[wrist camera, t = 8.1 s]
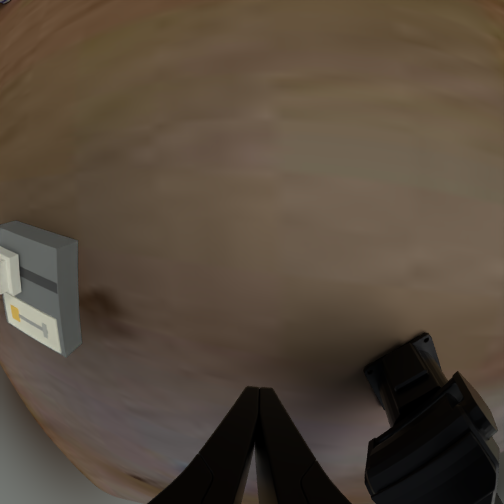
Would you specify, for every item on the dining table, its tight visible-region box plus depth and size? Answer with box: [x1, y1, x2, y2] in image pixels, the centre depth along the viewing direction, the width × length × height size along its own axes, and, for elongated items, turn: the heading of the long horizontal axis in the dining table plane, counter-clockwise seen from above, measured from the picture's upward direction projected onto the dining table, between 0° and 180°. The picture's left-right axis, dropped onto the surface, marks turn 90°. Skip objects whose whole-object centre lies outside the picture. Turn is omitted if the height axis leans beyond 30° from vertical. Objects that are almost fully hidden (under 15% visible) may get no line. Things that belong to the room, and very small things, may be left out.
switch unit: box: [0, 221, 82, 357], centre depth 23 cm, size 10×11×3 cm
